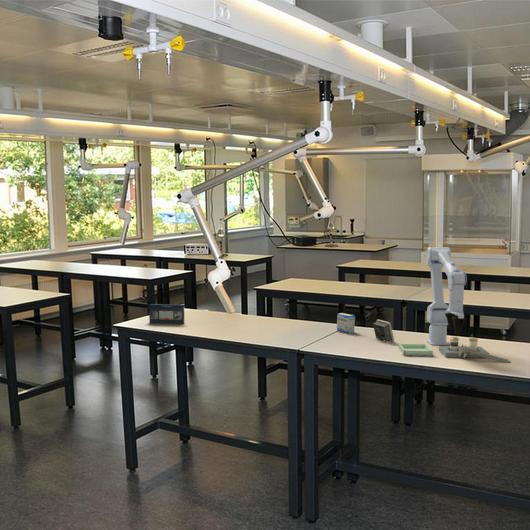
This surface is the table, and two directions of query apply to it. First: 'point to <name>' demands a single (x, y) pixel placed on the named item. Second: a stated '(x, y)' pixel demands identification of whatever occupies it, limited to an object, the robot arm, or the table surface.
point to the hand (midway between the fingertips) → (454, 331)
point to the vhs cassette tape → (166, 313)
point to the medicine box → (345, 322)
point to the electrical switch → (383, 330)
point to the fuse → (473, 343)
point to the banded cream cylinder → (454, 343)
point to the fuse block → (447, 353)
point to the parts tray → (415, 349)
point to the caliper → (479, 354)
